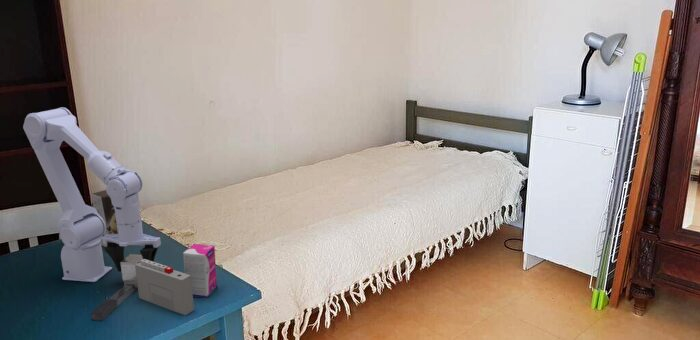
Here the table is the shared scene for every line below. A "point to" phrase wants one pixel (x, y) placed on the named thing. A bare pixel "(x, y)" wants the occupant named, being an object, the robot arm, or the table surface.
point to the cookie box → (105, 212)
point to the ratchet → (114, 301)
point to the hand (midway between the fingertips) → (135, 270)
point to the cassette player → (164, 286)
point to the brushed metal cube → (130, 267)
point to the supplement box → (201, 269)
